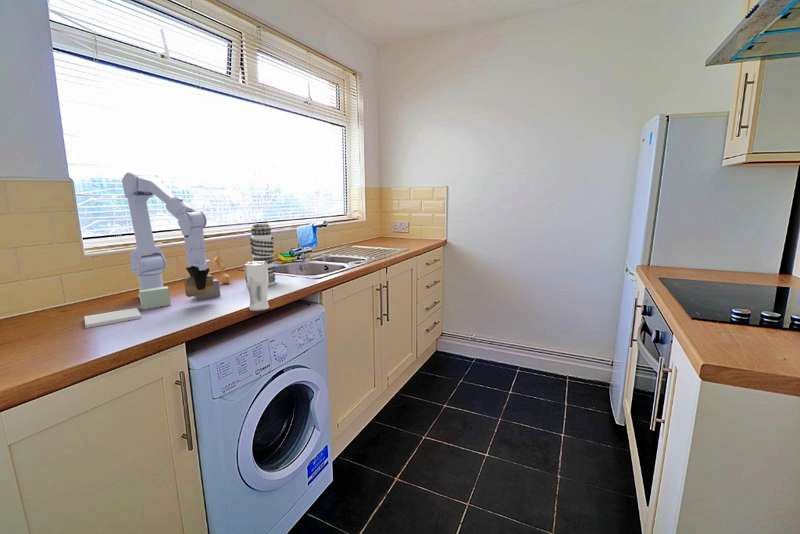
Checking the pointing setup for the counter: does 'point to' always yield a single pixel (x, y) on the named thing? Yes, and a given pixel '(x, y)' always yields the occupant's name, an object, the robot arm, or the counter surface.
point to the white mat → (111, 317)
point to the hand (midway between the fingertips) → (199, 288)
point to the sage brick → (154, 297)
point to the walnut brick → (192, 289)
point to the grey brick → (215, 294)
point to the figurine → (222, 270)
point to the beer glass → (257, 285)
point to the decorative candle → (263, 248)
